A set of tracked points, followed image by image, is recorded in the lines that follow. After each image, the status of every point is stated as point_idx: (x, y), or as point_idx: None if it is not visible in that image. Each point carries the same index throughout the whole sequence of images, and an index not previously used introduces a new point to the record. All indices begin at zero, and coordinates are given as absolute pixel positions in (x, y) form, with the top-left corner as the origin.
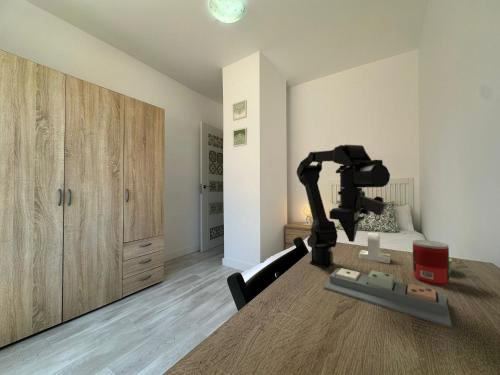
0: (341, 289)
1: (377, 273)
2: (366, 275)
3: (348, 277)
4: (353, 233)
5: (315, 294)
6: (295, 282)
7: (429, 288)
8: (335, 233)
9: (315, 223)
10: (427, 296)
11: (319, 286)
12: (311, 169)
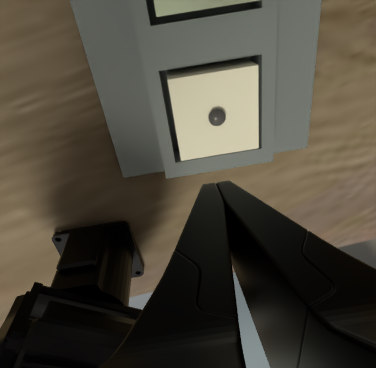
0: (292, 93)
1: None
2: (150, 48)
3: (257, 96)
4: (286, 222)
5: (360, 140)
6: (314, 218)
7: None
8: (35, 356)
9: None
10: None
11: (297, 160)
12: None
